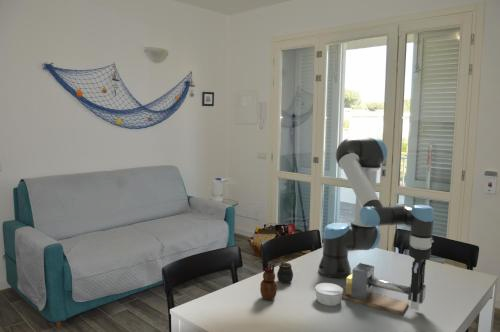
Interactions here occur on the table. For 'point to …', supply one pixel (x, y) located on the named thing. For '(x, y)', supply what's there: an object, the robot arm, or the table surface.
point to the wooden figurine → (268, 284)
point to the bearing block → (362, 282)
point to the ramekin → (328, 294)
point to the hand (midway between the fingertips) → (416, 305)
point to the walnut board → (382, 303)
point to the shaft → (397, 288)
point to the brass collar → (349, 284)
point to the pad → (345, 293)
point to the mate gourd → (285, 273)
